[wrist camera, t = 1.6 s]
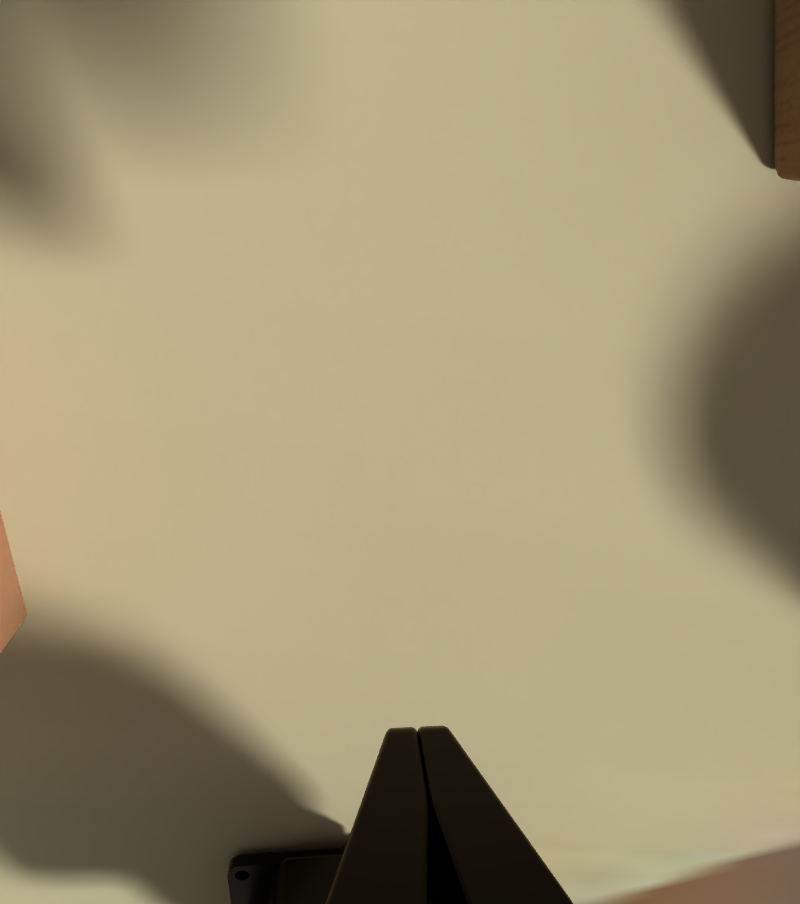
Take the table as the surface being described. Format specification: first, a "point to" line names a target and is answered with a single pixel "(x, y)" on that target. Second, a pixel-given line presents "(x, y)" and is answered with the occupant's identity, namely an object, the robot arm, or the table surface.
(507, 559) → the table surface
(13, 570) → the tile
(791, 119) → the wooden block
